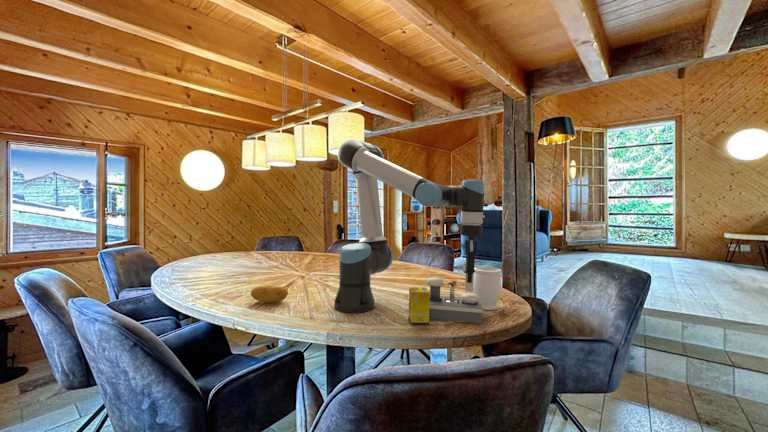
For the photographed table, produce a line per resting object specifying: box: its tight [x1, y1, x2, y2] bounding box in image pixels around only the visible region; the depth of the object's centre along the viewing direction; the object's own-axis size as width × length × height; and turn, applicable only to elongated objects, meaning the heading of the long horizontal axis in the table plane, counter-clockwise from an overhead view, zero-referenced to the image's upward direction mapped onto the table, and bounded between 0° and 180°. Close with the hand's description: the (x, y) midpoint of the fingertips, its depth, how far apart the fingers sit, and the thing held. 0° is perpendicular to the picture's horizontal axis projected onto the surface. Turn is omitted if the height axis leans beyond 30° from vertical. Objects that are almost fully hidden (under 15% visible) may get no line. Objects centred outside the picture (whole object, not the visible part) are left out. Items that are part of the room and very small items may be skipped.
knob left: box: [426, 276, 444, 300], centre depth 119 cm, size 6×6×7 cm
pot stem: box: [446, 279, 458, 304], centre depth 117 cm, size 4×4×12 cm
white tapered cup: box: [473, 265, 502, 311], centre depth 127 cm, size 11×10×15 cm
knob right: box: [460, 292, 478, 305], centre depth 116 cm, size 6×6×7 cm
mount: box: [429, 295, 484, 324], centre depth 117 cm, size 20×12×5 cm, turn 78°
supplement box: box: [408, 286, 430, 326], centre depth 110 cm, size 6×6×11 cm
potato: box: [250, 285, 289, 304], centre depth 128 cm, size 8×14×7 cm, turn 86°
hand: (468, 291), depth 116 cm, fingers closed
